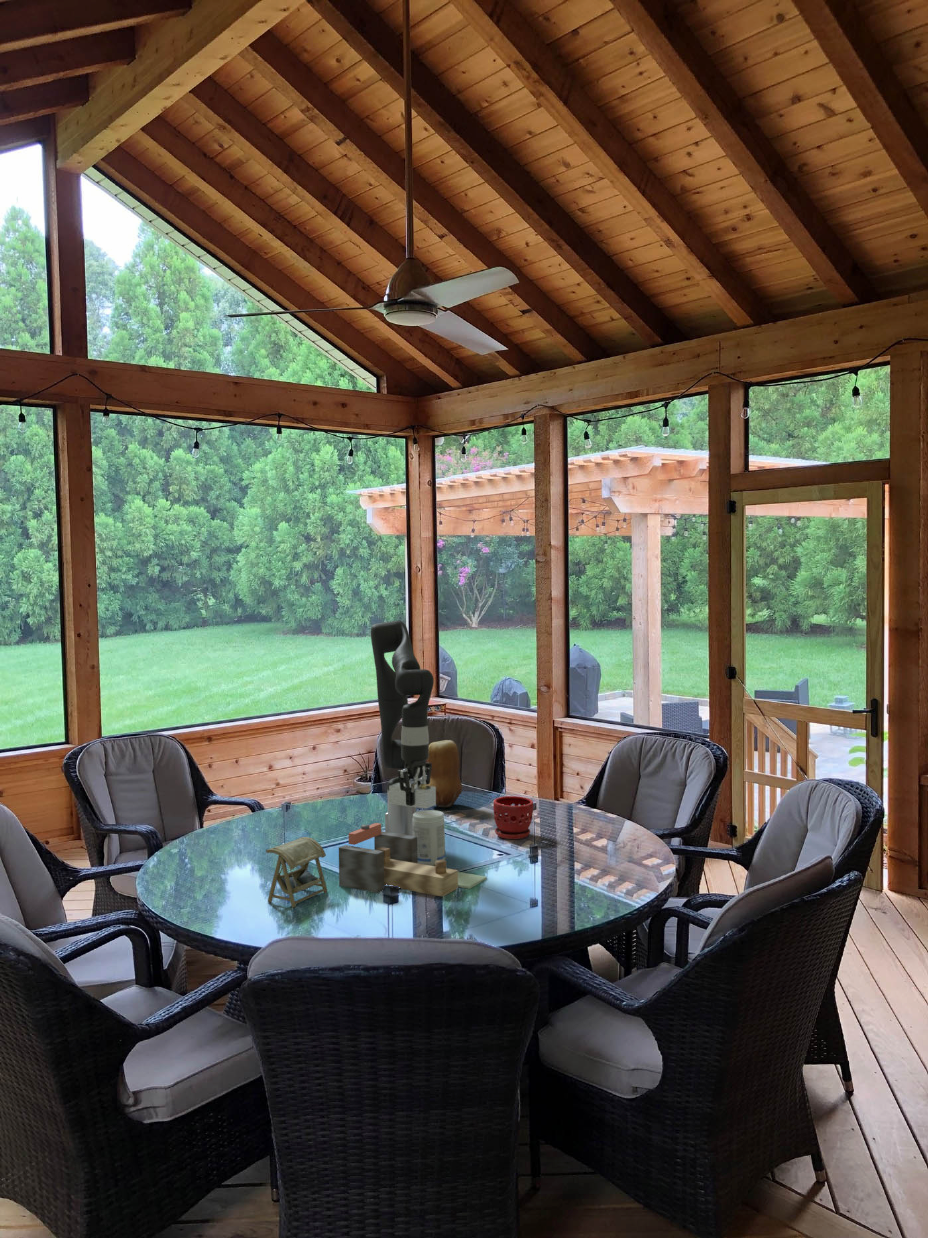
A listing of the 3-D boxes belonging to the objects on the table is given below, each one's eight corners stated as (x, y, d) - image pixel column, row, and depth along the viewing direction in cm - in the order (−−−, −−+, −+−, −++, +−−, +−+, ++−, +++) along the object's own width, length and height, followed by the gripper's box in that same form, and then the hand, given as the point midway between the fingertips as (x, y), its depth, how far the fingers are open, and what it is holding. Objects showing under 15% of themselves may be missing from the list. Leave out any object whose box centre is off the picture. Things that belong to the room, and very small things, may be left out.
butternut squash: (425, 803, 363) (424, 737, 362) (460, 802, 365) (460, 737, 364) (428, 812, 350) (427, 744, 349) (464, 811, 351) (464, 743, 350)
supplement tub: (437, 856, 294) (436, 808, 293) (450, 864, 286) (450, 815, 285) (408, 860, 290) (407, 812, 289) (420, 868, 281) (420, 819, 281)
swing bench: (294, 908, 248) (293, 852, 247) (265, 903, 252) (264, 847, 252) (328, 892, 261) (328, 838, 260) (300, 887, 265) (299, 834, 265)
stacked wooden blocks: (339, 885, 266) (338, 847, 265) (380, 867, 283) (380, 831, 283) (430, 903, 251) (430, 862, 250) (468, 882, 268) (468, 844, 268)
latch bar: (348, 843, 268) (348, 830, 268) (375, 833, 279) (374, 820, 279) (355, 845, 267) (354, 831, 267) (381, 834, 278) (381, 821, 278)
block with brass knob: (389, 803, 265) (389, 782, 265) (399, 800, 270) (399, 779, 270) (426, 808, 259) (425, 787, 259) (435, 804, 264) (435, 783, 264)
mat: (438, 883, 267) (438, 881, 267) (456, 873, 276) (456, 871, 276) (469, 888, 262) (469, 886, 262) (486, 878, 271) (486, 876, 271)
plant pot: (487, 839, 312) (487, 803, 312) (501, 829, 325) (501, 794, 324) (525, 843, 308) (525, 806, 307) (538, 833, 320) (538, 797, 319)
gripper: (412, 747, 255) (412, 810, 256) (440, 739, 268) (440, 799, 268) (388, 745, 259) (389, 807, 260) (417, 737, 271) (418, 796, 272)
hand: (415, 803), depth 264 cm, fingers closed on block with brass knob, 5 cm apart
